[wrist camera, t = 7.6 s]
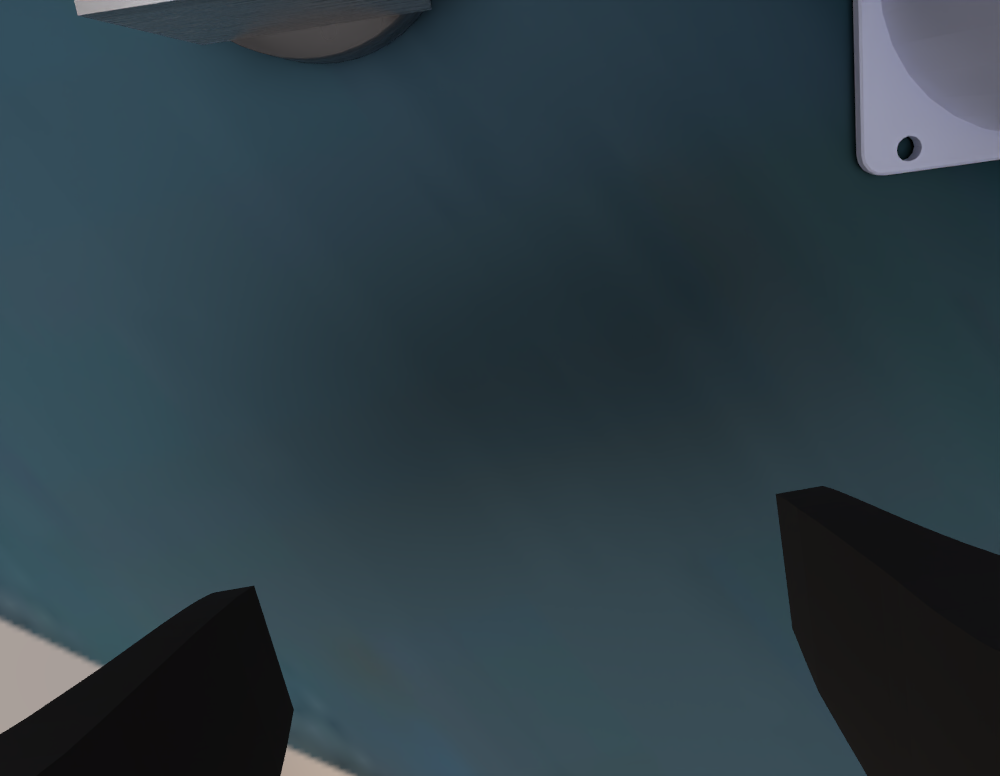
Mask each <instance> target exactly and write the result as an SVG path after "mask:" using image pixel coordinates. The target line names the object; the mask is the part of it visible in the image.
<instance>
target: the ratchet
mask: <svg viewBox="0 0 1000 776" xmlns="http://www.w3.org/2000/svg"><path fill="white" fill-rule="evenodd" d="M430 1H431V0H430ZM422 13H423V11H420V12H413V13H407V14H400V15H394V16H387V17H381V18H374V19H368V20H361V21H355V22H348V23H342V24H335V25H329V26H322V27H316V28H309V29H303V30H297V31H290V32H284V33H277V34H271V35H264V36H258V37H251V38H245V39H238V40H232V42H234V43H236V44H238V45H240V46H243V47H245V48H248V49H251V50H254V51H257V52H260V53H264V54H267V55H271V56H275V57H279V58H283V59H287V60H292V61H297V62H302V63H313V64H329V63H340V62H345V61H349V60H354V59H358V58H360V57H363V56H365V55H368V54H371V53H373V52H375V51H377V50H379V49H381V48H382V47H384V46H386V45H388V44H390V43H391V42H392V41H394V40H395V39H396V38H398V37H399V36H400V35H402V34H403V33H404V32H405V31H406V30H407V29H408V28H409V27H410V26H411V25H412V24H413V23H414V22H415V21H416V20H417V19H418V18H419V16H420V15H421V14H422Z"/></svg>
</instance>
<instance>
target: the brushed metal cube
mask: <svg viewBox="0 0 1000 776" xmlns="http://www.w3.org/2000/svg"><path fill="white" fill-rule="evenodd" d="M74 2H75V6H76V10H77V14H78V16H82V17H86V18H90V19H95V20H99V21H103V22H107V23H111V24H116V25H120V26H124V27H128V28H133V29H137V30H141V31H145V32H149V33H154V34H158V35H162V36H166V37H170V38H175V39H179V40H183V41H187V42H191V43H196V44H200V45H206V44H212V43H219V42H225V41H232V40H238V39H245V38H251V37H258V36H264V35H271V34H277V33H284V32H290V31H297V30H303V29H309V28H316V27H322V26H329V25H335V24H342V23H348V22H355V21H361V20H368V19H374V18H381V17H387V16H394V15H400V14H407V13H413V12H420V11H426V10H432V8H431V2H430V0H74Z"/></svg>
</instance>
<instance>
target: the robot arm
mask: <svg viewBox="0 0 1000 776" xmlns="http://www.w3.org/2000/svg"><path fill="white" fill-rule="evenodd" d="M853 25H854V71H855V118H856V156H857V160H858V164H859V165H860V166H861V168H862V169H863V170H864V171H866V172H868V173H870V174H874V175H891V174H899V173H906V172H913V171H920V170H928V169H935V168H942V167H949V166H957V165H964V164H971V163H978V162H986V161H993V160H1000V0H853ZM907 136H908V137H909V138H910V139H912V140H913V144H914V149H913V153H912V154H911V155H910V156H909V157H908V158H907V159H905V160H902V159H901V158H899V157H898V154H897V147H898V143H899V142H900V141H901V140H902V139H903V138H905V137H907ZM776 499H777V507H778V515H779V524H780V532H781V540H782V548H783V556H784V564H785V572H786V580H787V588H788V596H789V604H790V612H791V620H792V628H793V631H794V633H795V636H796V638H797V641H798V643H799V646H800V648H801V651H802V653H803V656H804V658H805V661H806V663H807V665H808V668H809V670H810V672H811V675H812V677H813V679H814V682H815V684H816V686H817V689H818V691H819V693H820V695H821V697H822V698H823V700H824V702H825V704H826V705H827V707H828V709H829V711H830V712H831V714H832V716H833V718H834V719H835V721H836V723H837V724H838V726H839V728H840V730H841V731H842V733H843V735H844V737H845V738H846V740H847V742H848V743H849V745H850V747H851V749H852V750H853V752H854V754H855V755H856V757H857V759H858V760H859V762H860V764H861V766H862V767H863V769H864V771H865V772H866V774H867V776H1000V555H997V554H994V553H991V552H988V551H986V550H983V549H980V548H977V547H974V546H971V545H968V544H965V543H963V542H960V541H957V540H955V539H952V538H950V537H947V536H944V535H942V534H939V533H937V532H934V531H932V530H929V529H927V528H924V527H922V526H919V525H917V524H915V523H912V522H910V521H907V520H905V519H903V518H900V517H898V516H896V515H893V514H891V513H889V512H886V511H884V510H882V509H879V508H877V507H875V506H873V505H870V504H868V503H866V502H863V501H861V500H859V499H856V498H854V497H852V496H849V495H847V494H844V493H842V492H839V491H837V490H834V489H831V488H828V487H824V486H820V487H814V488H808V489H803V490H797V491H791V492H786V493H780V494H776ZM293 711H294V709H293V706H292V703H291V700H290V697H289V694H288V691H287V687H286V684H285V681H284V678H283V675H282V672H281V669H280V666H279V662H278V659H277V656H276V653H275V650H274V647H273V644H272V640H271V637H270V634H269V631H268V628H267V625H266V622H265V619H264V615H263V612H262V609H261V606H260V603H259V600H258V597H257V594H256V590H255V587H254V586H250V587H244V588H238V589H233V590H227V591H221V592H216V593H212V594H210V595H208V596H206V597H204V598H202V599H200V600H198V601H196V602H195V603H193V604H191V605H190V606H188V607H187V608H185V609H184V610H182V611H181V612H179V613H178V614H176V615H175V616H173V617H172V618H170V619H169V620H167V621H166V622H164V623H163V624H162V625H160V626H159V627H157V628H156V629H155V630H153V631H152V632H150V633H149V634H148V635H146V636H145V637H143V638H142V639H141V640H139V641H138V642H136V643H135V644H134V645H132V646H131V647H129V648H128V649H127V650H125V651H124V652H122V653H121V654H120V655H118V656H117V657H115V658H114V659H113V660H111V661H110V662H108V663H107V664H106V665H104V666H103V667H101V668H100V669H99V670H97V671H96V672H94V673H93V674H91V675H90V676H88V677H87V678H85V679H84V680H82V681H81V682H79V683H78V684H77V685H75V686H74V687H72V688H71V689H69V690H68V691H66V692H65V693H63V694H62V695H60V696H59V697H57V698H56V699H54V700H53V701H51V702H50V703H48V704H47V705H45V706H44V707H42V708H41V709H39V710H38V711H36V712H35V713H33V714H32V715H30V716H29V717H27V718H26V719H24V720H23V721H21V722H19V723H18V724H16V725H15V726H13V727H11V728H10V729H9V730H7V731H5V732H3V733H2V734H0V776H280V774H281V771H282V766H283V762H284V757H285V753H286V748H287V743H288V738H289V732H290V727H291V721H292V716H293Z"/></svg>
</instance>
